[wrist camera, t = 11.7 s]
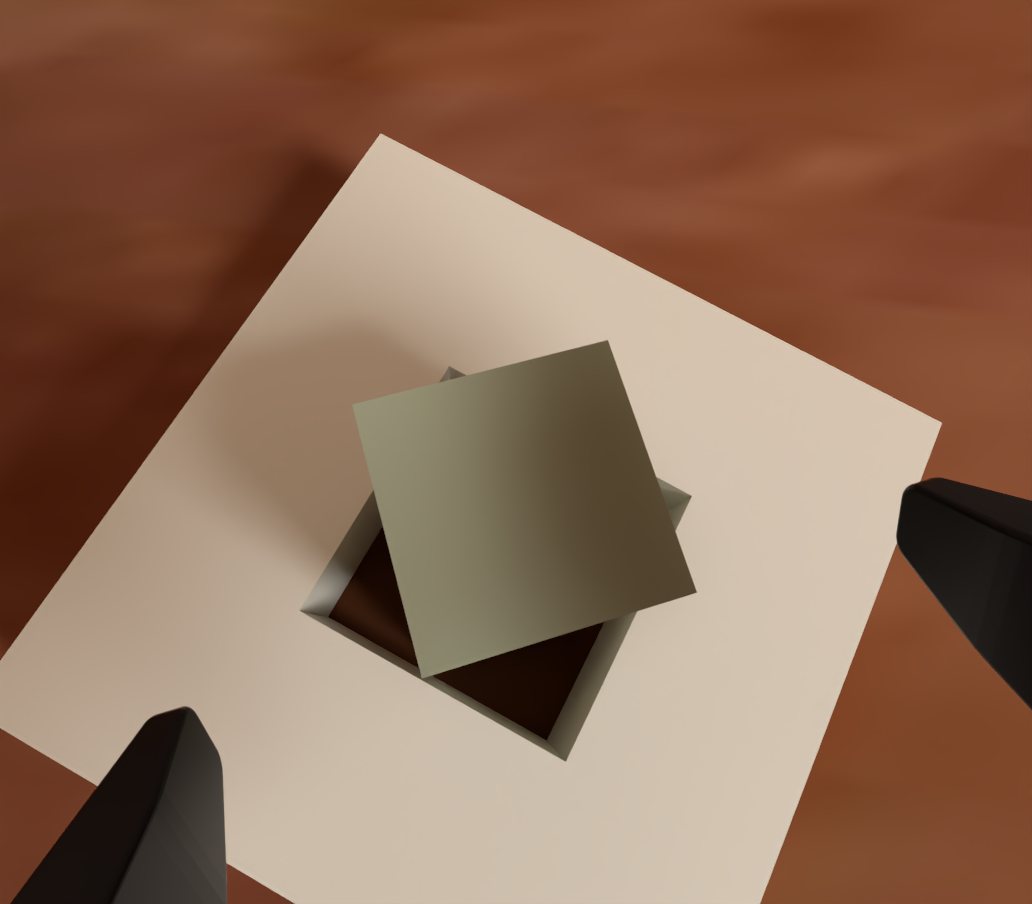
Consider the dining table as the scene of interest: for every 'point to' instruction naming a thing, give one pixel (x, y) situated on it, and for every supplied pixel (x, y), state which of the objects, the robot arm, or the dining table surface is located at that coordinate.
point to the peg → (518, 506)
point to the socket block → (398, 684)
